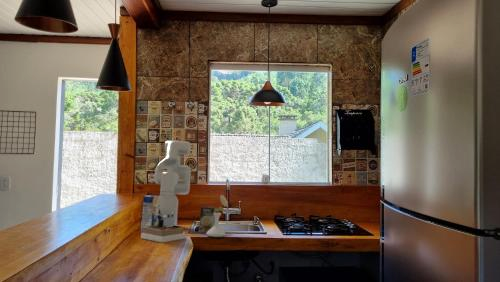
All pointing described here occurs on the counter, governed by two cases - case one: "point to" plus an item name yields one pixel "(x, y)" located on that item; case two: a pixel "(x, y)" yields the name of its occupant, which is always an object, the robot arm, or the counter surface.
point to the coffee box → (206, 219)
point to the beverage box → (149, 211)
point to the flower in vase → (216, 230)
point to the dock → (162, 234)
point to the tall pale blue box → (166, 222)
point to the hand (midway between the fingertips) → (164, 226)
